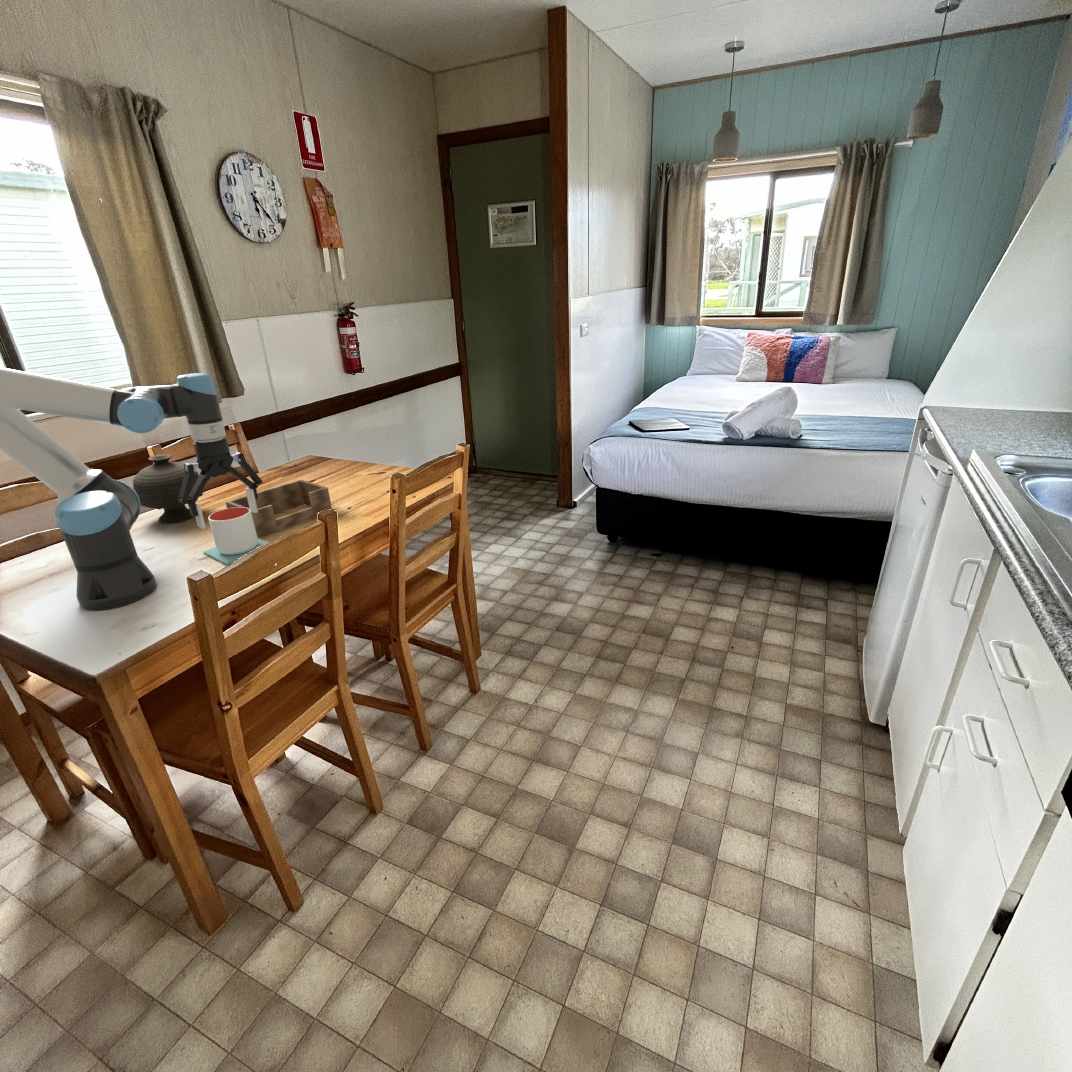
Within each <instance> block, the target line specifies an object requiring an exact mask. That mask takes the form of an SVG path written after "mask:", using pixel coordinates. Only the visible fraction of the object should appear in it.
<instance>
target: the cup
mask: <svg viewBox="0 0 1072 1072" xmlns="http://www.w3.org/2000/svg"><path fill="white" fill-rule="evenodd" d="M207 520H208V522H209V526H210V529H211V532H212V533H211V534H212V537H213V540H214V545H215V547H216V548H217V550H218V551H219V552H220V553H222V554H225V555H236V554H241V553H245V552H247V551H250V550H252V549H253V548H254V547H256V545H257V544H258V538H257V534H256V530H255V526H254V522H253V518H252V514H251V510H250V509H249V508H245V507H234V508H227V507H226V508H223V509H221V510H218V511H217V510H216V511H215V512H213V513H210V514H209V516H208V519H207Z"/></svg>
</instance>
